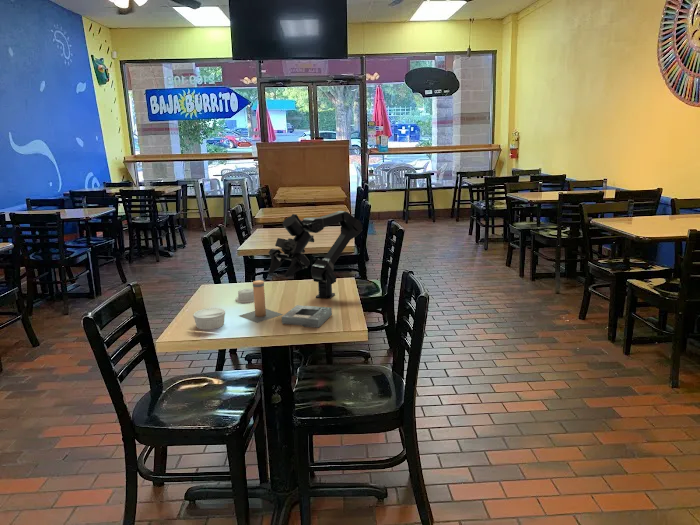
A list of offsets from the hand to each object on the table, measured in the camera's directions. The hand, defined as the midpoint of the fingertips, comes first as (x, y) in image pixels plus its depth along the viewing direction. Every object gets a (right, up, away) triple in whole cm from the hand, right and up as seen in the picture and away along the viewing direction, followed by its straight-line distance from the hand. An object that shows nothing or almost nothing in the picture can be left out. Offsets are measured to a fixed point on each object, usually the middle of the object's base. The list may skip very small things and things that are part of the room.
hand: (277, 275), depth 203 cm
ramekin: (-23, -18, -11) cm, 31 cm away
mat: (-6, -16, -2) cm, 17 cm away
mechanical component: (-15, -11, +20) cm, 27 cm away
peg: (-6, -15, -2) cm, 16 cm away
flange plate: (+12, -16, -7) cm, 22 cm away
